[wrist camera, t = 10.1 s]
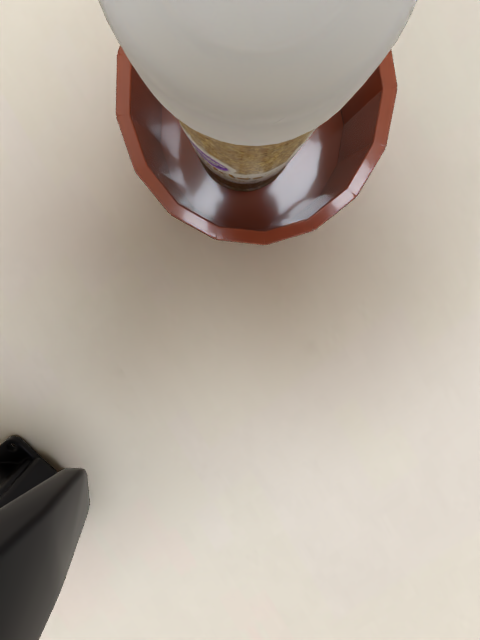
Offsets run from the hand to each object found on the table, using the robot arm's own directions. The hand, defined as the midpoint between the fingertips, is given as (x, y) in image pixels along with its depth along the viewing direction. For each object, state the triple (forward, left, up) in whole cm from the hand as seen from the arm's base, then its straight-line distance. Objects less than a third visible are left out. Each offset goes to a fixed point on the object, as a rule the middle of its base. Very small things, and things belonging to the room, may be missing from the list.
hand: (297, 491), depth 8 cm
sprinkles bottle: (+5, +8, -13) cm, 16 cm away
